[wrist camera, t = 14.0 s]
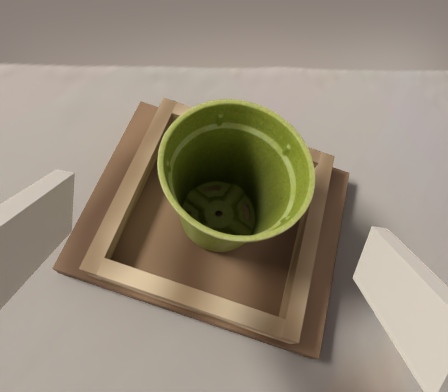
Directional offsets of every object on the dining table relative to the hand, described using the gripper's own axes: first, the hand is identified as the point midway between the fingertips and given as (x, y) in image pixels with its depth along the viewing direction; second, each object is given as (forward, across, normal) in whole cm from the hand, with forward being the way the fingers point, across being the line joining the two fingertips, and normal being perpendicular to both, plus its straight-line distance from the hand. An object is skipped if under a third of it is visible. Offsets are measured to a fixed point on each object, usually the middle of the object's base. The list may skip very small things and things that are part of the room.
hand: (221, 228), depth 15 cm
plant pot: (+12, +1, -5) cm, 13 cm away
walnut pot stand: (+13, +1, -6) cm, 14 cm away
